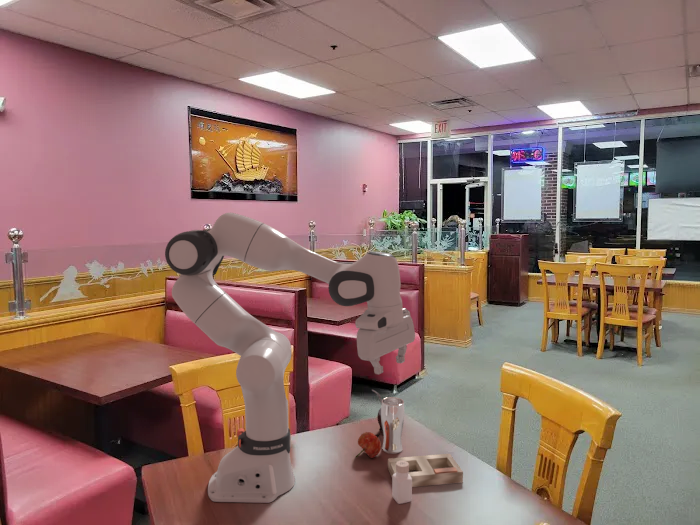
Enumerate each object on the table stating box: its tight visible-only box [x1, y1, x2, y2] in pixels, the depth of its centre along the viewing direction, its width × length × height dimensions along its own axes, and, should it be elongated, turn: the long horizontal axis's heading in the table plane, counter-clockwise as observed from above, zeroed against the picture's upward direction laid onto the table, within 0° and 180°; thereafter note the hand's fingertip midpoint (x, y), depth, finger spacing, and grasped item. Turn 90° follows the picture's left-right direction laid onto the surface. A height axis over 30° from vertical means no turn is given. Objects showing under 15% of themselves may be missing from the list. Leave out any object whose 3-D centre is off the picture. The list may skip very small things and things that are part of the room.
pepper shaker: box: [391, 461, 413, 505], centre depth 129 cm, size 4×4×10 cm
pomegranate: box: [355, 431, 382, 459], centre depth 151 cm, size 7×7×10 cm
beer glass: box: [380, 396, 405, 455], centre depth 154 cm, size 7×7×15 cm
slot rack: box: [387, 453, 464, 488], centre depth 140 cm, size 18×10×3 cm, turn 99°
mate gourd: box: [371, 389, 384, 437], centre depth 165 cm, size 8×8×15 cm
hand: (390, 367), depth 132 cm, fingers open, 8 cm apart
